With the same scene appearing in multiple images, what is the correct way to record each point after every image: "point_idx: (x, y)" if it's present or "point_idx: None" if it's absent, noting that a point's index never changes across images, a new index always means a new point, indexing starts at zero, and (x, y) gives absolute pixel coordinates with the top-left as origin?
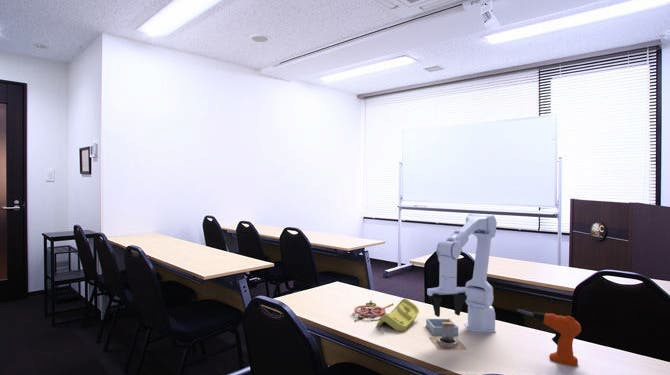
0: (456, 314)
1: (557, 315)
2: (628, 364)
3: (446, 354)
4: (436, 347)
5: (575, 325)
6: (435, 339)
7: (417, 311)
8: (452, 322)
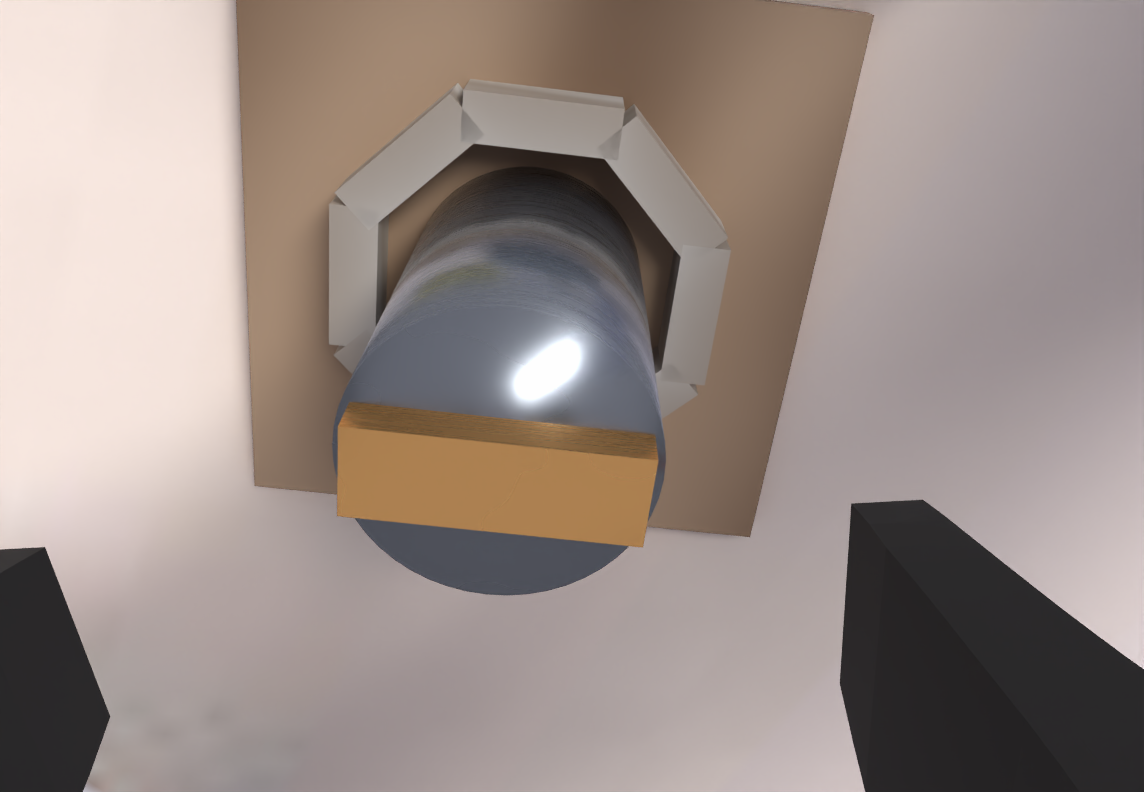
0: (848, 608)
1: None
2: None
3: (357, 597)
4: (256, 424)
5: None
6: (352, 74)
7: None
8: (650, 483)
